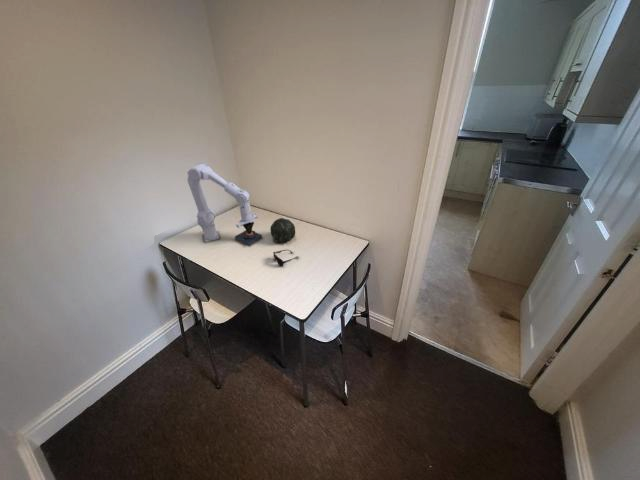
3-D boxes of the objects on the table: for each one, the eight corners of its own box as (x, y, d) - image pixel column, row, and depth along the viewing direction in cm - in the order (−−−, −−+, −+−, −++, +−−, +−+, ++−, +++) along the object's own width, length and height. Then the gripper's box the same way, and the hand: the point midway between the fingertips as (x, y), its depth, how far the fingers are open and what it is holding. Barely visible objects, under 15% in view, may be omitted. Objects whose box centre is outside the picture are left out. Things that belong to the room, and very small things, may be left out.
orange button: (245, 236, 150) (244, 233, 149) (250, 233, 153) (249, 230, 152) (249, 238, 149) (249, 235, 147) (254, 235, 151) (254, 232, 150)
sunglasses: (270, 258, 136) (270, 250, 134) (289, 253, 143) (290, 245, 141) (280, 268, 129) (280, 260, 127) (300, 262, 136) (300, 254, 134)
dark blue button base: (235, 239, 152) (234, 233, 150) (248, 232, 159) (247, 226, 157) (249, 246, 147) (248, 239, 144) (262, 238, 154) (261, 231, 151)
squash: (294, 221, 160) (277, 208, 150) (303, 233, 149) (286, 220, 139) (279, 238, 161) (261, 226, 151) (287, 251, 150) (268, 239, 140)
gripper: (240, 219, 136) (244, 240, 143) (260, 209, 146) (263, 229, 153) (231, 216, 139) (236, 237, 146) (251, 206, 149) (254, 226, 156)
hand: (249, 233), depth 150 cm, fingers closed, pressing on orange button
